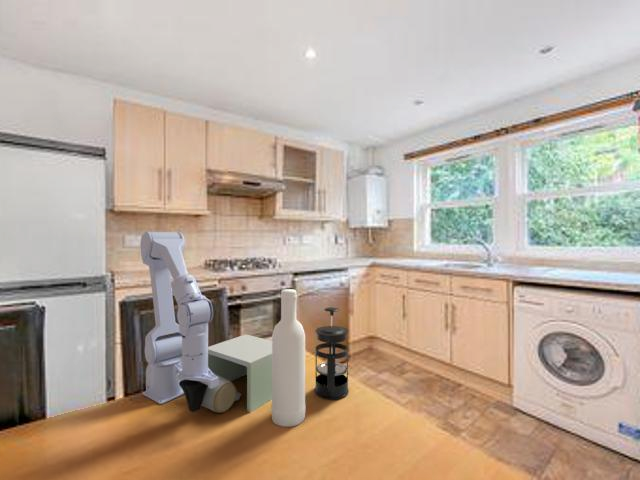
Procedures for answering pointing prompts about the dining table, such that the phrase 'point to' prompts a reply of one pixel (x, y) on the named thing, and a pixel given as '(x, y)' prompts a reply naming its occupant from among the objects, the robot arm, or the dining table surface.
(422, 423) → the dining table surface
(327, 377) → the french press
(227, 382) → the ceramic mug
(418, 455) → the dining table surface
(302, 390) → the bottle
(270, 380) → the counter shelf
